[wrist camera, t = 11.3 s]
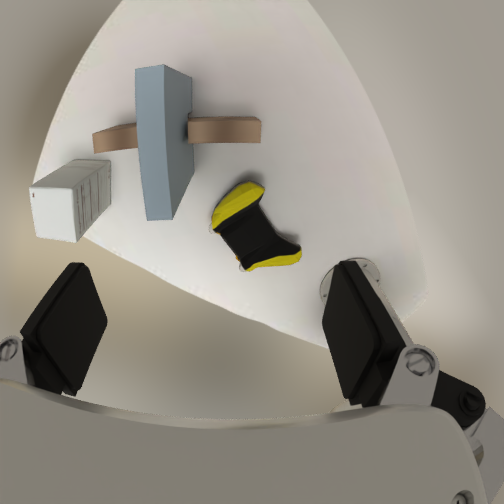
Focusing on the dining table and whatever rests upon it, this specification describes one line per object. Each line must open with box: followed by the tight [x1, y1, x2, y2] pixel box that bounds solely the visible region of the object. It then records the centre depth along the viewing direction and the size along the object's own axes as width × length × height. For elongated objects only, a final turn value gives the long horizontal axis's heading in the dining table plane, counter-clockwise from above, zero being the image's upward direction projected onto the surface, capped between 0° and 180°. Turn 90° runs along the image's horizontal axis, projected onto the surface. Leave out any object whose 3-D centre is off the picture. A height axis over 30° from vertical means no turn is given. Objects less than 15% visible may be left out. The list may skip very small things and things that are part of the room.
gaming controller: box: [209, 180, 302, 272], centre depth 41 cm, size 15×6×10 cm
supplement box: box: [29, 160, 111, 243], centre depth 31 cm, size 7×7×13 cm
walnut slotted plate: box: [92, 117, 261, 153], centre depth 31 cm, size 20×2×8 cm, turn 88°
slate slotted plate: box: [135, 65, 194, 221], centre depth 27 cm, size 14×2×16 cm, turn 179°
